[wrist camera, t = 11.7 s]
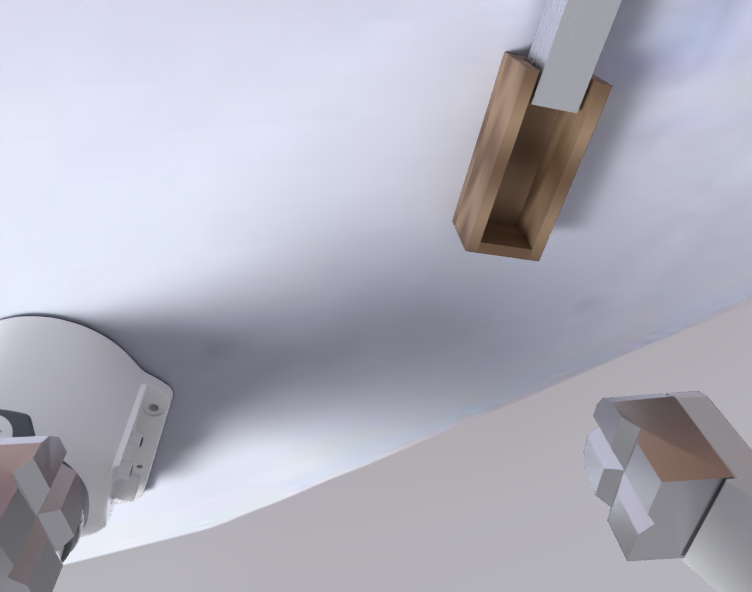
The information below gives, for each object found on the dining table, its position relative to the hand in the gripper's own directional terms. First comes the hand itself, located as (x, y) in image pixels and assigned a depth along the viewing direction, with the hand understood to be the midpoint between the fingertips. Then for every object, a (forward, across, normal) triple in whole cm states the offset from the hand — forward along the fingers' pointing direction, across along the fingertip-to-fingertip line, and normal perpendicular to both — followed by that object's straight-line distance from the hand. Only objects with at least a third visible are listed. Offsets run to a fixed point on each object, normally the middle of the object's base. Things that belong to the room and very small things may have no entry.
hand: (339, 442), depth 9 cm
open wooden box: (+31, -13, +7) cm, 34 cm away
